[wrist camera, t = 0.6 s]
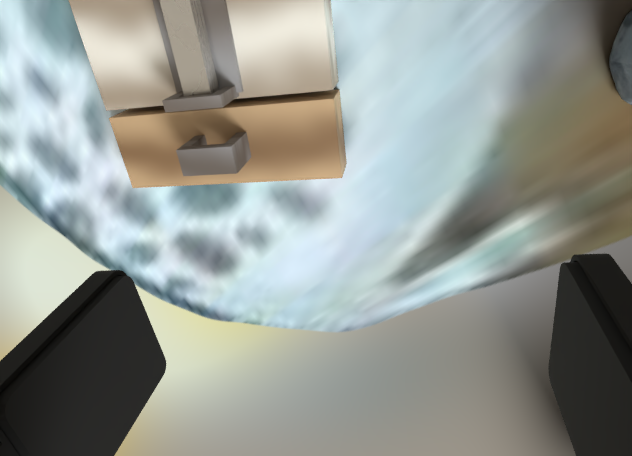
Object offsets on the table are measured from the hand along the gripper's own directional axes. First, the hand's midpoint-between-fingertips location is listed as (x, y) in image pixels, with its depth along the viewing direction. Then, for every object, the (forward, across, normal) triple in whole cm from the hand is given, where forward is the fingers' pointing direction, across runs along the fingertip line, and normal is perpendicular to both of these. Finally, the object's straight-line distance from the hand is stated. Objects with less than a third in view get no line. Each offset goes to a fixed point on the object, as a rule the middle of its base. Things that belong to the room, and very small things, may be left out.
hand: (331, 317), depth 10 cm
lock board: (+27, +12, -5) cm, 30 cm away
